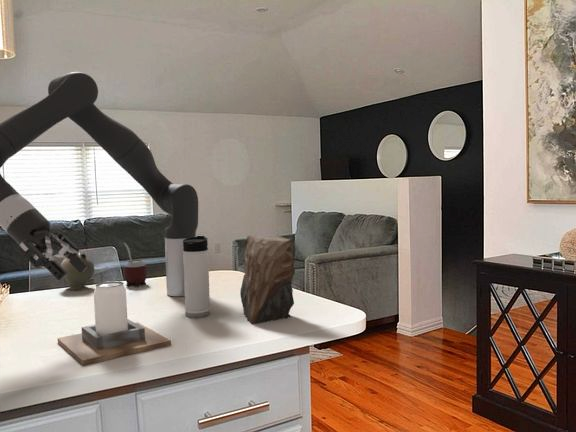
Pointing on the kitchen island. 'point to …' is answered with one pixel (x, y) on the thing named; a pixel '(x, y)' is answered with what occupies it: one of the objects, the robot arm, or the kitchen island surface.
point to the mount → (111, 343)
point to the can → (110, 307)
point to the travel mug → (196, 277)
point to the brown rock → (267, 279)
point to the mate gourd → (135, 271)
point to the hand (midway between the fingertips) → (74, 273)
